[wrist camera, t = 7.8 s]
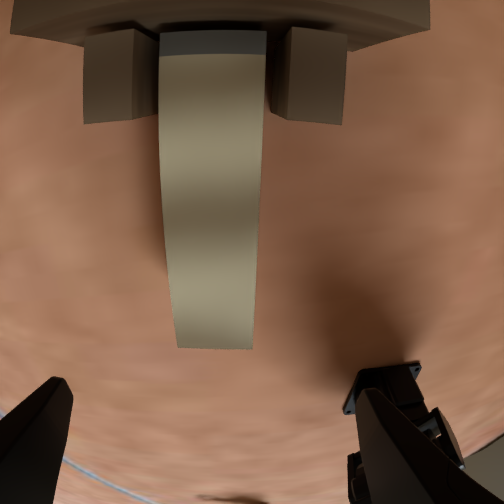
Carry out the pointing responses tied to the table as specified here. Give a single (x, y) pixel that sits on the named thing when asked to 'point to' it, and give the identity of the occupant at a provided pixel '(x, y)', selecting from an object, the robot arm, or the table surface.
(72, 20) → the headboard
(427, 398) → the table surface
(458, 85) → the table surface
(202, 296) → the rail
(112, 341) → the table surface
